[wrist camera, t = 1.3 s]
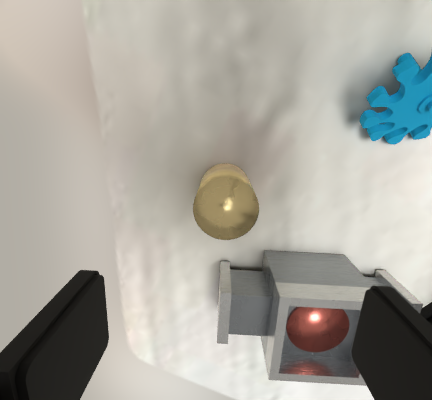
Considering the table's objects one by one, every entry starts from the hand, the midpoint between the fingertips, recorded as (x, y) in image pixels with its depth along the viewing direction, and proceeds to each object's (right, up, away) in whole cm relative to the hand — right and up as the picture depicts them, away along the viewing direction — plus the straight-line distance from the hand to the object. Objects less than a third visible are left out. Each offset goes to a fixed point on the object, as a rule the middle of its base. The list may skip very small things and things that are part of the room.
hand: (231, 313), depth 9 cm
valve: (+9, -6, +20) cm, 23 cm away
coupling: (0, +5, +17) cm, 18 cm away
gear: (+17, +13, +15) cm, 26 cm away
